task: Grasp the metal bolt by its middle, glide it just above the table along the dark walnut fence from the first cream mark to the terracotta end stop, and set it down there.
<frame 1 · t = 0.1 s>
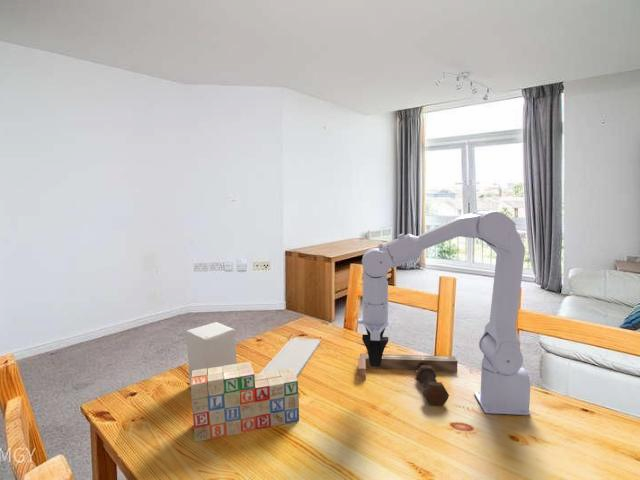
hand: (375, 358, 85), 10 cm above the table, tool pointing down, fingers open, 7 cm apart
stack of blocks: (247, 423, 78), on the table
bolt: (429, 390, 90), on the table
baseboard molding: (287, 364, 106), on the table
supplement box: (214, 386, 93), on the table
walnut fence: (407, 367, 101), on the table
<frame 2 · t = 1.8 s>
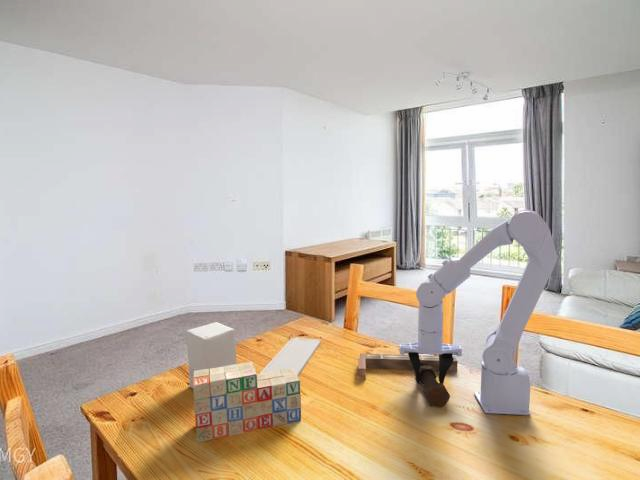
hand: (429, 381, 90), 2 cm above the table, tool pointing down, fingers closed on bolt, 5 cm apart
bolt: (429, 390, 90), on the table, touching gripper
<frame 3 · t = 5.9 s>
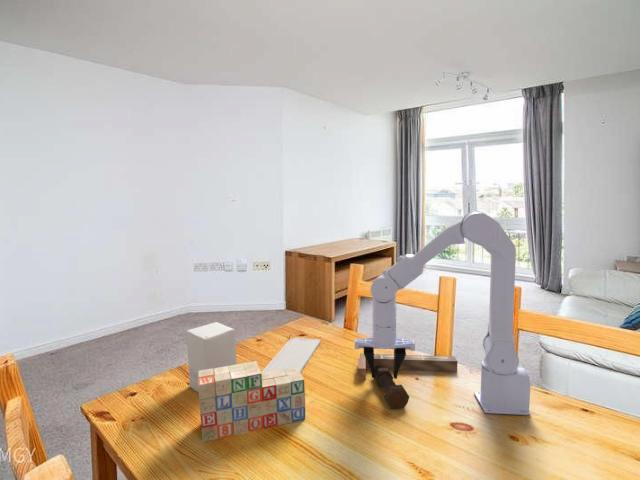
hand: (384, 376, 91), 3 cm above the table, tool pointing down, fingers closed on bolt, 5 cm apart
bolt: (387, 393, 89), on the table, touching gripper
when the fingers open (2 cm above the table, at t = 6.6 s): bolt moves 1 cm, on the table.
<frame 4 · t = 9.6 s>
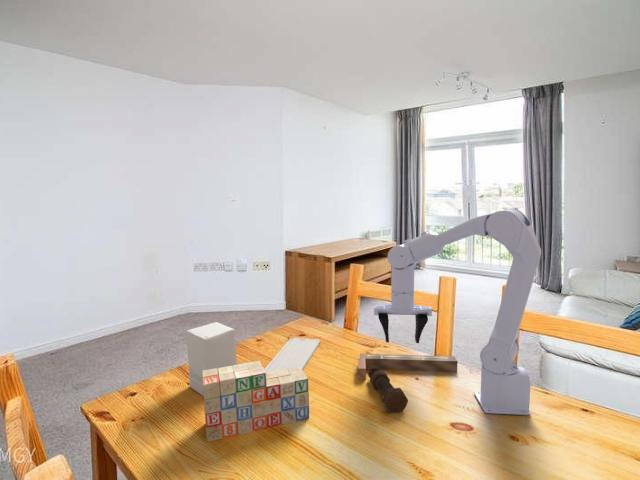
hand: (402, 341, 96), 9 cm above the table, tool pointing down, fingers open, 7 cm apart
bolt: (384, 396, 88), on the table
at the end: bolt inside the target area (3.8 cm from its centre), on the table; bolt moved 11.7 cm from its start; the gripper is holding nothing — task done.
